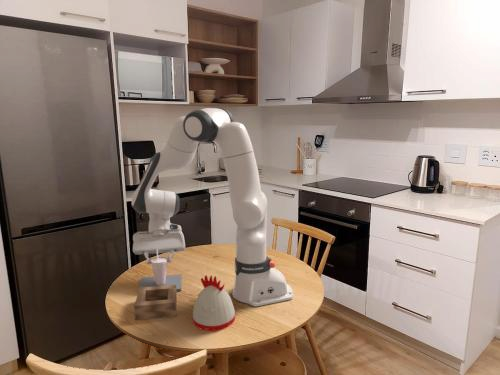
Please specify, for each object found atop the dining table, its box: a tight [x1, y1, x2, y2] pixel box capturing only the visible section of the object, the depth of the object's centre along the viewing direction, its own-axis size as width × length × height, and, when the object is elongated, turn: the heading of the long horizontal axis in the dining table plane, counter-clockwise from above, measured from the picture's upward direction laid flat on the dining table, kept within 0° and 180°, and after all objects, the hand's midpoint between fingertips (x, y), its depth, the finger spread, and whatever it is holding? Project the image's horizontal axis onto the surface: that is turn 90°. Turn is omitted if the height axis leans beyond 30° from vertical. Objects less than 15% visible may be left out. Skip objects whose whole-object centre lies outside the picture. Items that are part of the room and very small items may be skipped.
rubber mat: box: [136, 273, 182, 295], centre depth 144 cm, size 16×13×1 cm
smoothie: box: [150, 249, 168, 285], centre depth 143 cm, size 6×6×14 cm
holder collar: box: [133, 285, 178, 321], centre depth 127 cm, size 13×13×5 cm
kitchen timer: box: [192, 275, 236, 332], centre depth 119 cm, size 14×14×15 cm
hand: (159, 262), depth 142 cm, fingers closed on smoothie, 6 cm apart
